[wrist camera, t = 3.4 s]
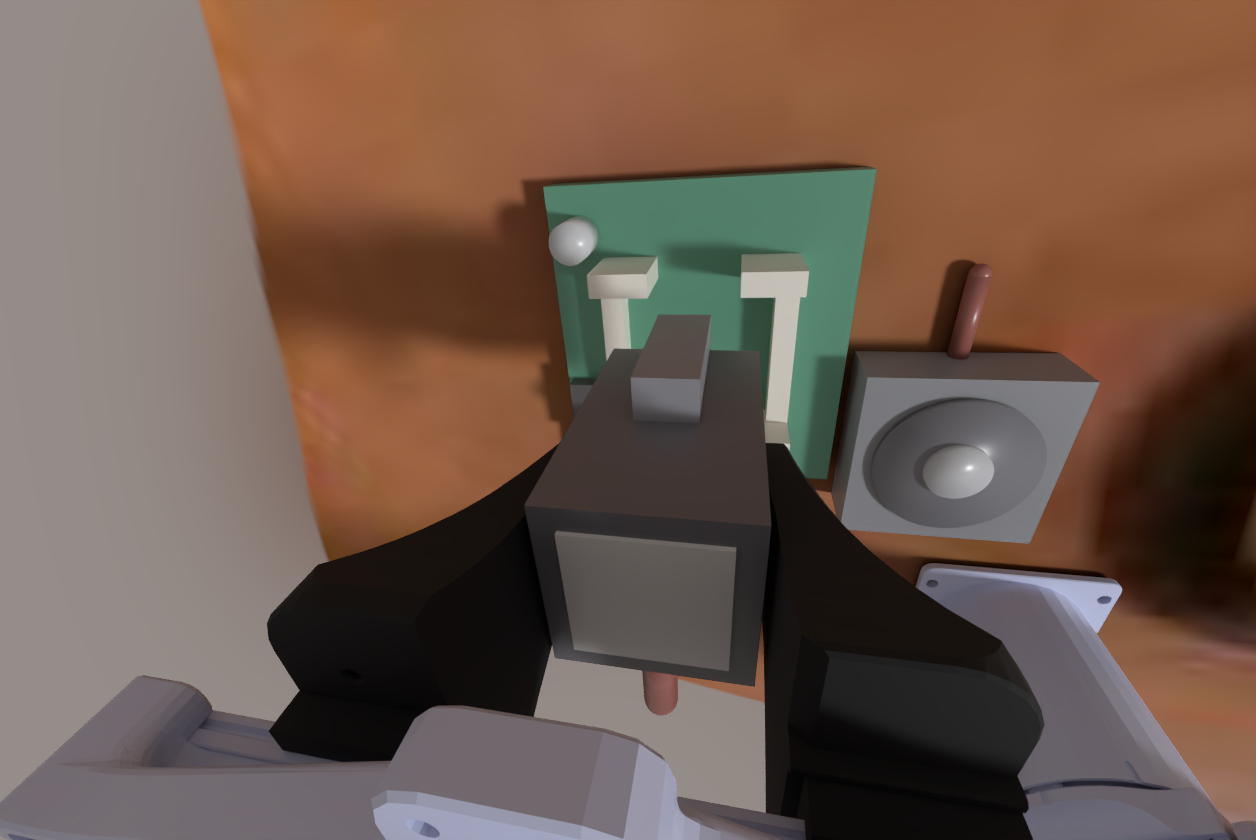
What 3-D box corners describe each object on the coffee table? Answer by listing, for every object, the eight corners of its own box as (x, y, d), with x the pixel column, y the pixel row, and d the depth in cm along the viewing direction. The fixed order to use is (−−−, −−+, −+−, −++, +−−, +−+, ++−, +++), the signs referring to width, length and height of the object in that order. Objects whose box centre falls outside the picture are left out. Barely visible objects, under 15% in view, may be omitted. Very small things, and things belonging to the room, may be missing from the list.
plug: (745, 541, 17) (746, 769, 11) (628, 530, 18) (569, 739, 12) (762, 314, 13) (777, 476, 7) (611, 314, 14) (511, 459, 8)
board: (823, 465, 23) (836, 517, 20) (586, 452, 25) (565, 498, 22) (869, 166, 17) (897, 176, 14) (551, 183, 19) (516, 195, 16)
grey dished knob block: (1002, 504, 22) (1036, 554, 19) (831, 493, 23) (841, 539, 21) (1096, 259, 17) (1159, 283, 14) (869, 263, 18) (890, 287, 16)
